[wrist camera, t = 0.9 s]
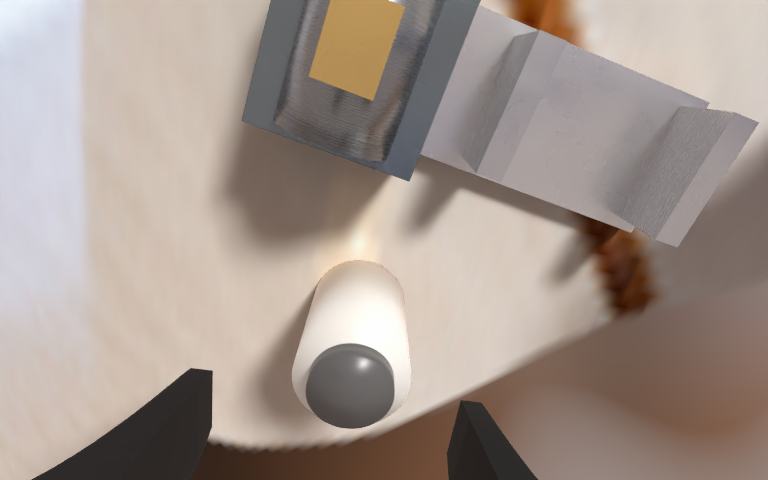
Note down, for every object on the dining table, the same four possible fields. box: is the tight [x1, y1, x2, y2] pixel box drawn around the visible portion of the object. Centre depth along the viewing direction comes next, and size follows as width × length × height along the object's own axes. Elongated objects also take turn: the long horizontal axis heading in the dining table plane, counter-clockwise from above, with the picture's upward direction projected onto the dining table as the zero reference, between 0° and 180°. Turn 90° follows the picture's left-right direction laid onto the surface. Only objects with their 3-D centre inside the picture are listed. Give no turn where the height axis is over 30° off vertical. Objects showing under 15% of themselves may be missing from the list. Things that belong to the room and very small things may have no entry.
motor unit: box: [242, 0, 759, 248], centre depth 15 cm, size 17×7×7 cm, turn 70°
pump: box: [292, 260, 411, 429], centre depth 19 cm, size 4×4×7 cm
